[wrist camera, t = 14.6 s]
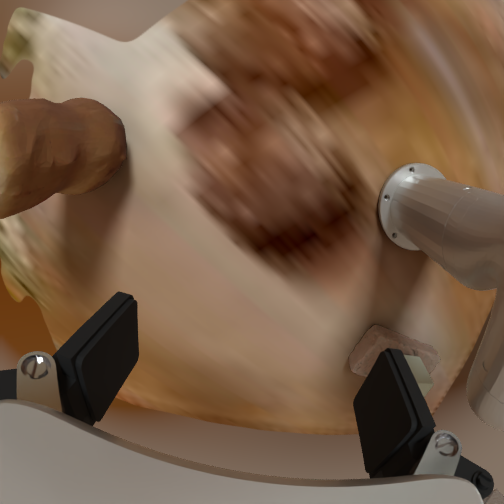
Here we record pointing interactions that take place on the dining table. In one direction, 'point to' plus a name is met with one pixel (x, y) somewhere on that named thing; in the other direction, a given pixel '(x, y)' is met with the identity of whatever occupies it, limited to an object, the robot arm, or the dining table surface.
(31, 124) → the brown oblong lump
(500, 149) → the dining table surface
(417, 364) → the block
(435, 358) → the brick
